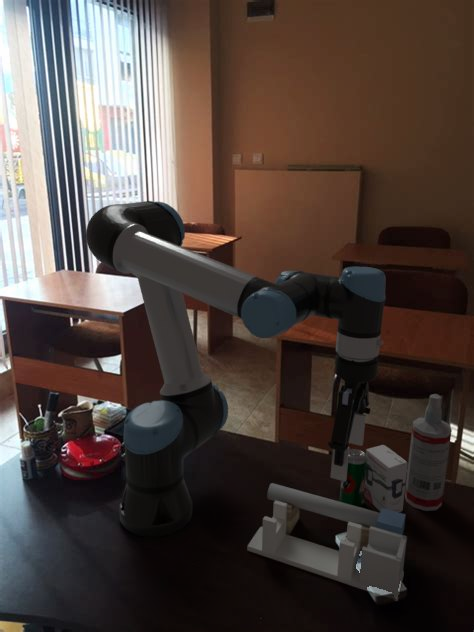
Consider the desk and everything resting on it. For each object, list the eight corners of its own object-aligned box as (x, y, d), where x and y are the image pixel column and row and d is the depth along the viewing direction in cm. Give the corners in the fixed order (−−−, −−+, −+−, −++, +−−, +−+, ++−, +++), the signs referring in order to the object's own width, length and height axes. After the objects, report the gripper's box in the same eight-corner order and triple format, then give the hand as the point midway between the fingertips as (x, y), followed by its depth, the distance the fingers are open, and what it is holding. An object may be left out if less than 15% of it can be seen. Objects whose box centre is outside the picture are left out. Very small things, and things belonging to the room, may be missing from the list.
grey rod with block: (266, 503, 109) (266, 489, 108) (274, 492, 112) (274, 478, 112) (400, 543, 98) (401, 528, 97) (404, 528, 102) (405, 514, 101)
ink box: (360, 494, 120) (364, 447, 117) (379, 489, 122) (383, 443, 119) (384, 517, 113) (389, 467, 110) (403, 511, 115) (409, 462, 112)
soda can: (363, 511, 115) (367, 461, 111) (339, 508, 116) (342, 458, 112) (362, 497, 119) (367, 449, 116) (339, 494, 120) (343, 446, 117)
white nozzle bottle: (443, 513, 114) (458, 405, 107) (407, 508, 116) (419, 402, 109) (437, 491, 122) (450, 389, 115) (403, 487, 123) (414, 387, 116)
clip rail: (246, 551, 103) (247, 514, 100) (260, 529, 108) (261, 494, 106) (397, 602, 91) (401, 561, 89) (403, 575, 97) (408, 536, 95)
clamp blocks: (275, 530, 109) (276, 503, 107) (285, 514, 113) (286, 488, 112) (370, 559, 101) (372, 531, 99) (376, 541, 106) (378, 514, 104)
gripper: (363, 383, 83) (351, 501, 89) (390, 337, 105) (380, 435, 111) (316, 375, 86) (308, 489, 92) (352, 332, 108) (344, 427, 114)
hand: (347, 460), depth 102 cm, fingers open, 13 cm apart
